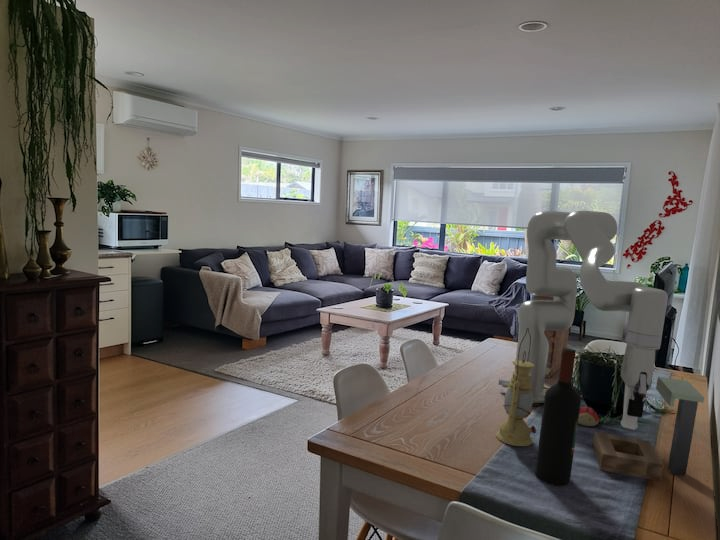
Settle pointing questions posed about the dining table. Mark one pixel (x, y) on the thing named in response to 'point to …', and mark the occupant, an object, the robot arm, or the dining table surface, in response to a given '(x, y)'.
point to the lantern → (518, 405)
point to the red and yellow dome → (587, 417)
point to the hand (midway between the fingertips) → (631, 411)
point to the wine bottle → (559, 426)
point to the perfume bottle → (627, 420)
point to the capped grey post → (680, 419)
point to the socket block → (627, 456)
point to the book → (554, 344)
